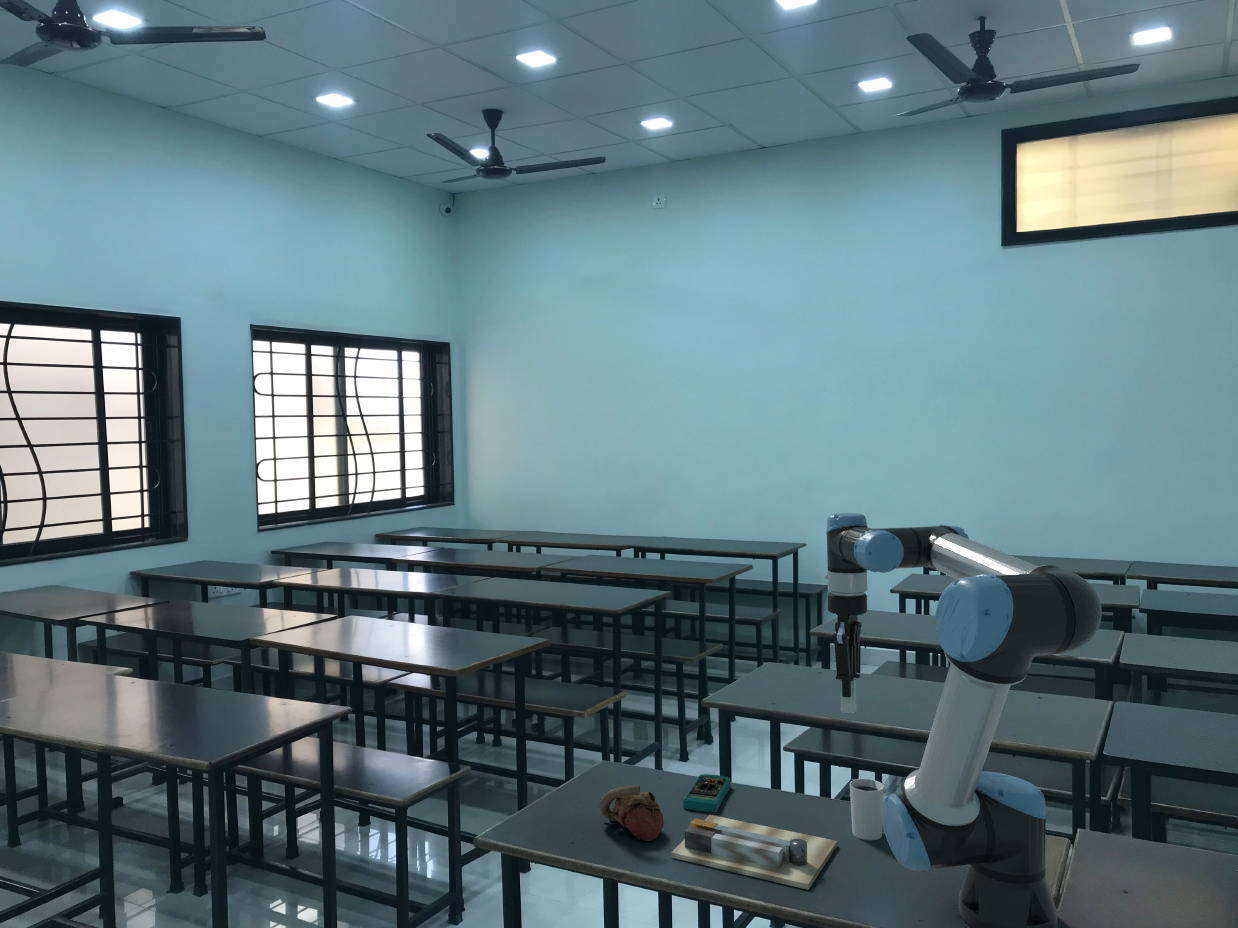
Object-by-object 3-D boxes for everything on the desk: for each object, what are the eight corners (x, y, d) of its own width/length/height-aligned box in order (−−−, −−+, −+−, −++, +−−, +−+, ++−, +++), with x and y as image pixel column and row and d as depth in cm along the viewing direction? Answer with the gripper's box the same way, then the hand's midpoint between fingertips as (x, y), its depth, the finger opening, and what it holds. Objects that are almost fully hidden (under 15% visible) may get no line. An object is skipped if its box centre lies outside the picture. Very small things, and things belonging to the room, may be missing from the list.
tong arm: (809, 859, 168) (809, 840, 168) (803, 866, 165) (803, 847, 165) (696, 832, 180) (696, 814, 180) (689, 838, 177) (688, 820, 177)
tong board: (837, 845, 176) (836, 824, 176) (808, 889, 159) (808, 866, 159) (709, 819, 189) (709, 799, 189) (671, 857, 172) (670, 835, 172)
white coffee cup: (855, 841, 178) (855, 791, 177) (846, 826, 184) (845, 778, 184) (888, 840, 178) (888, 790, 178) (878, 825, 185) (877, 777, 184)
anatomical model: (657, 857, 181) (603, 821, 190) (682, 821, 185) (628, 788, 195) (638, 827, 173) (582, 791, 183) (664, 790, 177) (609, 757, 187)
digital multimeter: (731, 787, 207) (731, 774, 207) (716, 814, 192) (716, 800, 192) (699, 784, 209) (699, 771, 209) (682, 810, 195) (682, 796, 194)
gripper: (836, 585, 183) (837, 700, 183) (818, 596, 171) (820, 718, 172) (874, 588, 179) (875, 705, 180) (858, 599, 168) (859, 724, 168)
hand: (848, 711), depth 176 cm, fingers closed
